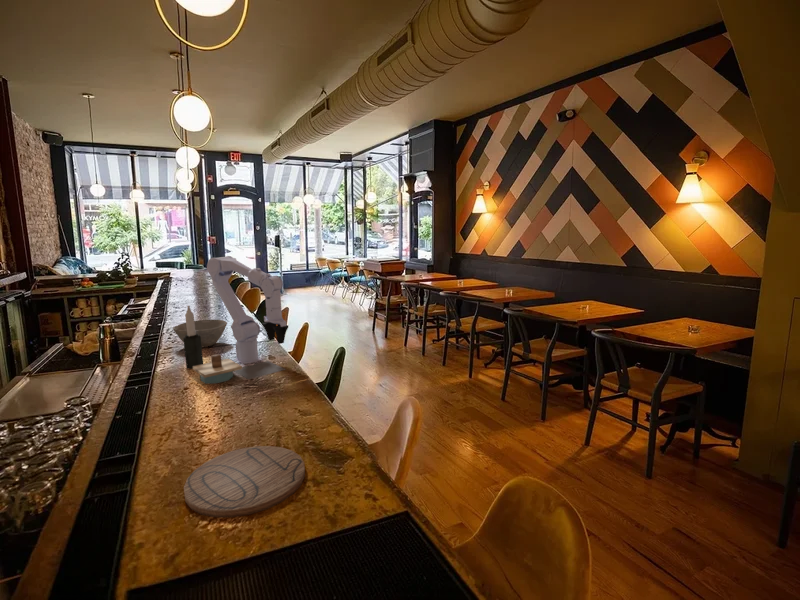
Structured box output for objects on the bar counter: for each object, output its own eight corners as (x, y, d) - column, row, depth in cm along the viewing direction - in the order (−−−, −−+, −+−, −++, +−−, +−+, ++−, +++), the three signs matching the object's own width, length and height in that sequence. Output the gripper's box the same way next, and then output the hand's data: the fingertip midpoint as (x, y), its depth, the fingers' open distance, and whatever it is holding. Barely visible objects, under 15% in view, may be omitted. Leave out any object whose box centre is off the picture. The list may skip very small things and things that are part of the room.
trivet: (263, 443, 117) (262, 436, 116) (328, 475, 101) (328, 468, 101) (163, 488, 98) (162, 480, 97) (224, 537, 82) (223, 528, 82)
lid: (192, 369, 164) (191, 355, 163) (228, 361, 172) (227, 348, 171) (204, 377, 154) (203, 363, 153) (242, 368, 162) (240, 355, 161)
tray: (231, 371, 172) (231, 369, 172) (268, 362, 182) (267, 360, 182) (248, 380, 161) (248, 379, 161) (286, 370, 171) (286, 369, 171)
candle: (204, 366, 180) (198, 304, 175) (197, 370, 175) (191, 306, 170) (192, 366, 180) (185, 304, 176) (185, 370, 175) (178, 306, 171)
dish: (198, 380, 164) (196, 369, 163) (225, 373, 170) (224, 363, 170) (208, 387, 156) (207, 376, 156) (236, 379, 163) (235, 369, 162)
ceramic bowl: (175, 343, 215) (173, 323, 213) (227, 337, 224) (225, 317, 223) (174, 355, 195) (171, 333, 193) (231, 348, 205) (228, 326, 203)
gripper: (255, 306, 178) (258, 340, 180) (273, 311, 167) (275, 347, 170) (272, 304, 183) (274, 336, 185) (290, 308, 172) (292, 343, 174)
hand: (276, 341), depth 178 cm, fingers open, 7 cm apart
